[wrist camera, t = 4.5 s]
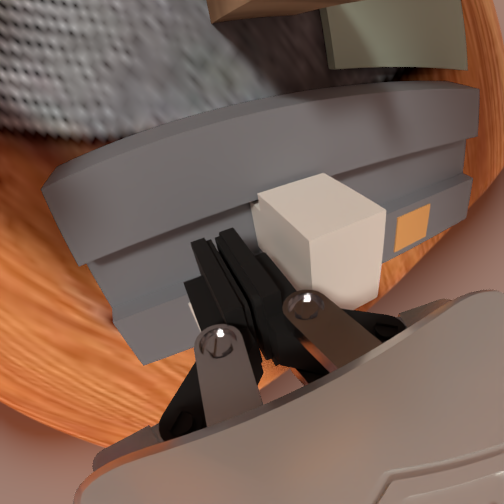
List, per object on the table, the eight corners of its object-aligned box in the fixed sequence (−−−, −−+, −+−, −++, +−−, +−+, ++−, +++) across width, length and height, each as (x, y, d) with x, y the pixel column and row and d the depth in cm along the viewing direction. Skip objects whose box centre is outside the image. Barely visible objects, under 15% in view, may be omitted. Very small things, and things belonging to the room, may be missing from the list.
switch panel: (56, 166, 11) (40, 190, 9) (445, 80, 16) (480, 89, 14) (136, 326, 17) (143, 366, 14) (438, 201, 22) (466, 218, 20)
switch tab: (245, 183, 13) (308, 241, 9) (308, 164, 13) (386, 209, 9) (260, 259, 15) (314, 329, 11) (314, 238, 16) (377, 297, 12)
